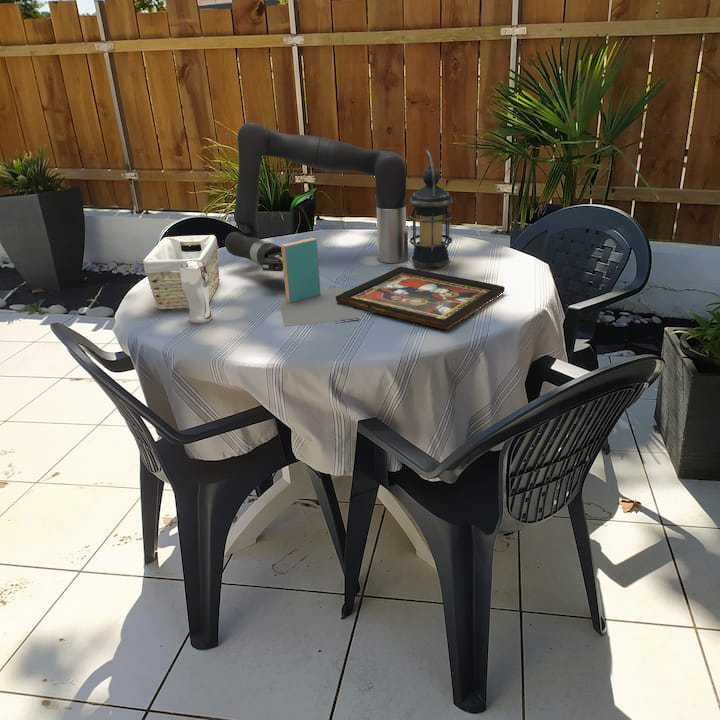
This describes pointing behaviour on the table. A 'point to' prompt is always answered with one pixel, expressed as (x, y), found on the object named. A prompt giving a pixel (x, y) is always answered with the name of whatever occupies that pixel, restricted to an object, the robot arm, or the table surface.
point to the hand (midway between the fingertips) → (297, 268)
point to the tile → (301, 270)
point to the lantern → (430, 220)
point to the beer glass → (196, 290)
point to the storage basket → (166, 268)
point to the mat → (316, 309)
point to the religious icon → (421, 296)
